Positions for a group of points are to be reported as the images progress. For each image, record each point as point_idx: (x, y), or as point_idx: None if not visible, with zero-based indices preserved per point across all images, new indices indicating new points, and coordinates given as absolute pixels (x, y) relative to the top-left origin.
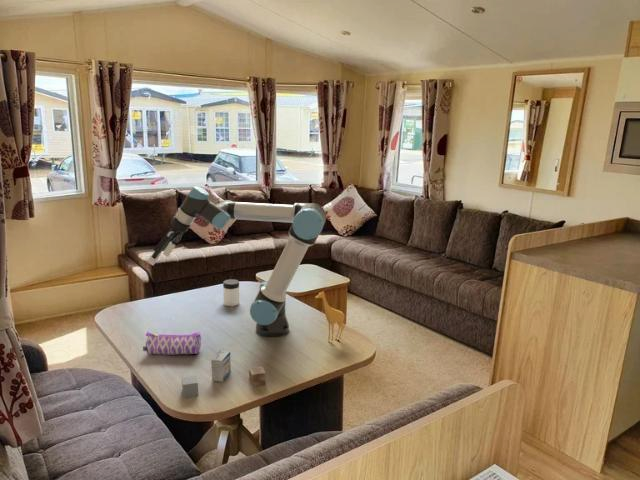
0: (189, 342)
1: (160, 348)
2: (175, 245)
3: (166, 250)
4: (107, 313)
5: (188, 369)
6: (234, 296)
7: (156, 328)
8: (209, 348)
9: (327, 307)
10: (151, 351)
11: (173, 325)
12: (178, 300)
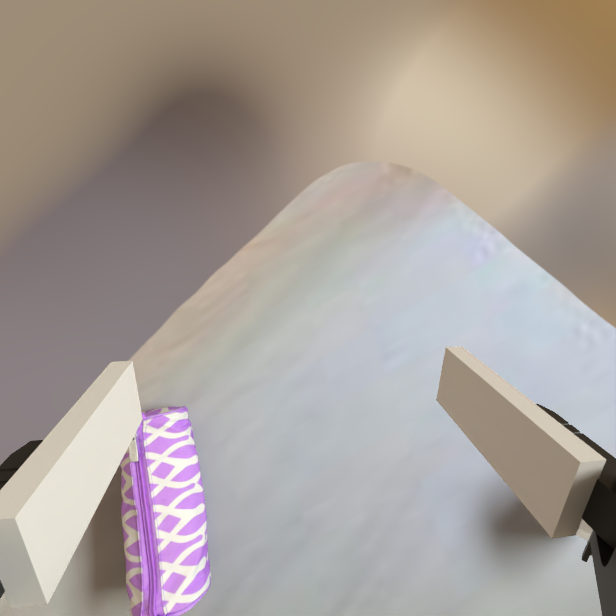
0: (127, 590)
1: (121, 471)
2: (569, 534)
3: (474, 390)
4: (365, 171)
5: (66, 600)
6: (589, 536)
7: (314, 348)
8: (220, 597)
9: None
10: None
11: (347, 388)
12: (517, 311)
